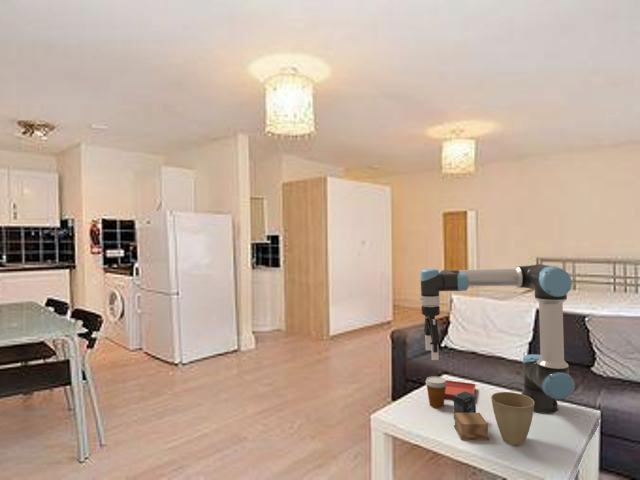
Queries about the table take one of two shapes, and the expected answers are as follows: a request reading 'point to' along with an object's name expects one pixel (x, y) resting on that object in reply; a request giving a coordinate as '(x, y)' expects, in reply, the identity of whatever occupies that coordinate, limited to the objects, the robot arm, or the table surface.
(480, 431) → the pedestal
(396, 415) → the table surface
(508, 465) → the table surface
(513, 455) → the table surface
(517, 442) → the plant pot
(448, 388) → the plant saucer
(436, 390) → the disposable coffee cup
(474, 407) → the box
